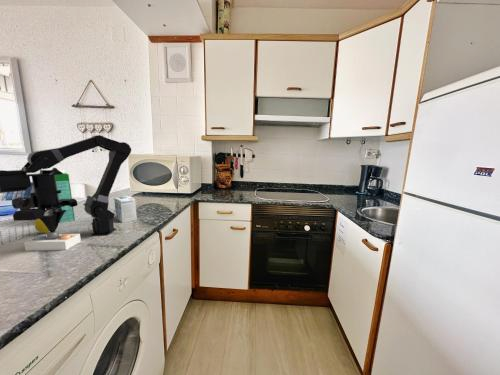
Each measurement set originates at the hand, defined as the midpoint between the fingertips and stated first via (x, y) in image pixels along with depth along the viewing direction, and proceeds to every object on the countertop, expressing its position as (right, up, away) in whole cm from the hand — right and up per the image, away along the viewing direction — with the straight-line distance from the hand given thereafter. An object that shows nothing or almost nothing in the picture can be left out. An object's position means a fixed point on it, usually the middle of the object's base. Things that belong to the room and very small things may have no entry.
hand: (52, 231), depth 74 cm
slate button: (-4, -4, 0) cm, 6 cm away
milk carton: (-22, -1, +28) cm, 36 cm away
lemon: (-14, -3, +12) cm, 19 cm away
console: (0, -5, +1) cm, 5 cm away
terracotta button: (+4, -4, +1) cm, 6 cm away
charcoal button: (0, -3, +1) cm, 3 cm away
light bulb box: (+8, 0, +31) cm, 32 cm away
